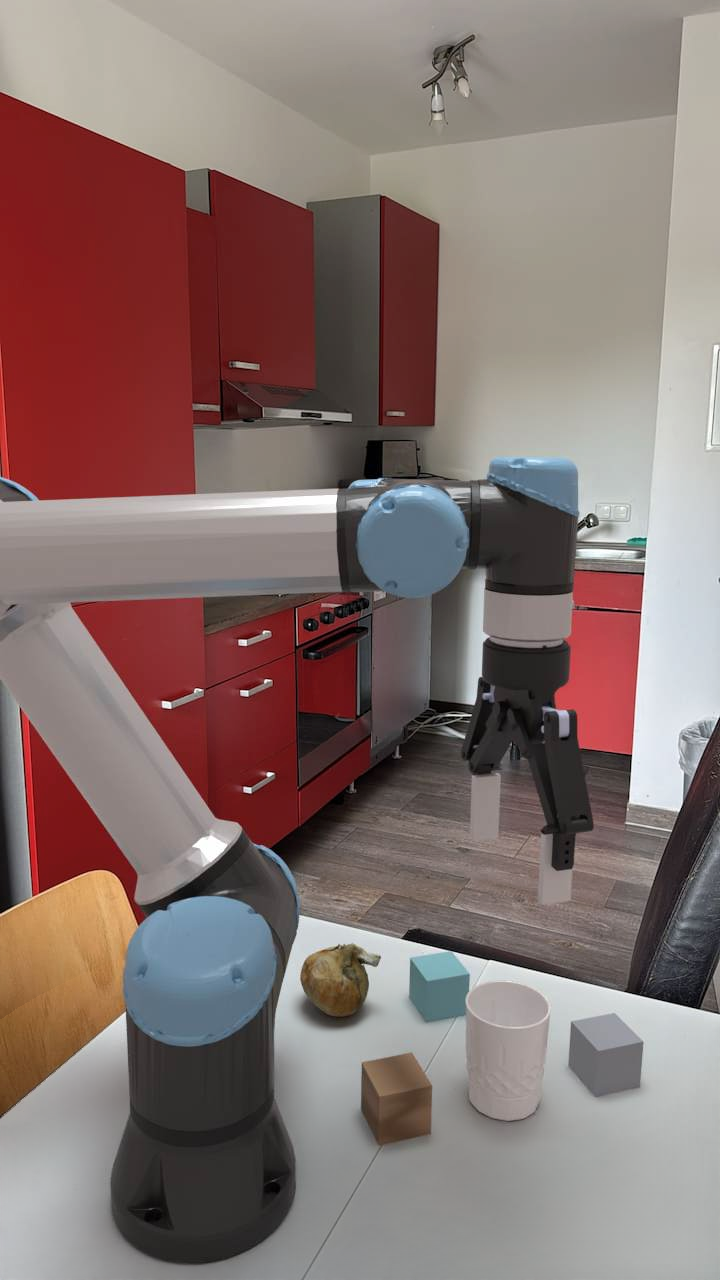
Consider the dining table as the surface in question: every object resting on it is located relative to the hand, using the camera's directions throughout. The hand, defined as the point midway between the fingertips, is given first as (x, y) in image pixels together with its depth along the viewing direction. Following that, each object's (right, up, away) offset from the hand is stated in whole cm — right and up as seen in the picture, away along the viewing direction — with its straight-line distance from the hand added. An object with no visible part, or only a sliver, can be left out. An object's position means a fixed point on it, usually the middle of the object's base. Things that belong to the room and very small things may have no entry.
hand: (516, 868), depth 87 cm
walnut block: (-11, -24, +1) cm, 26 cm away
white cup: (0, -23, +5) cm, 24 cm away
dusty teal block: (-5, -20, +19) cm, 29 cm away
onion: (-17, -20, +19) cm, 32 cm away
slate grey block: (+10, -23, +8) cm, 26 cm away
